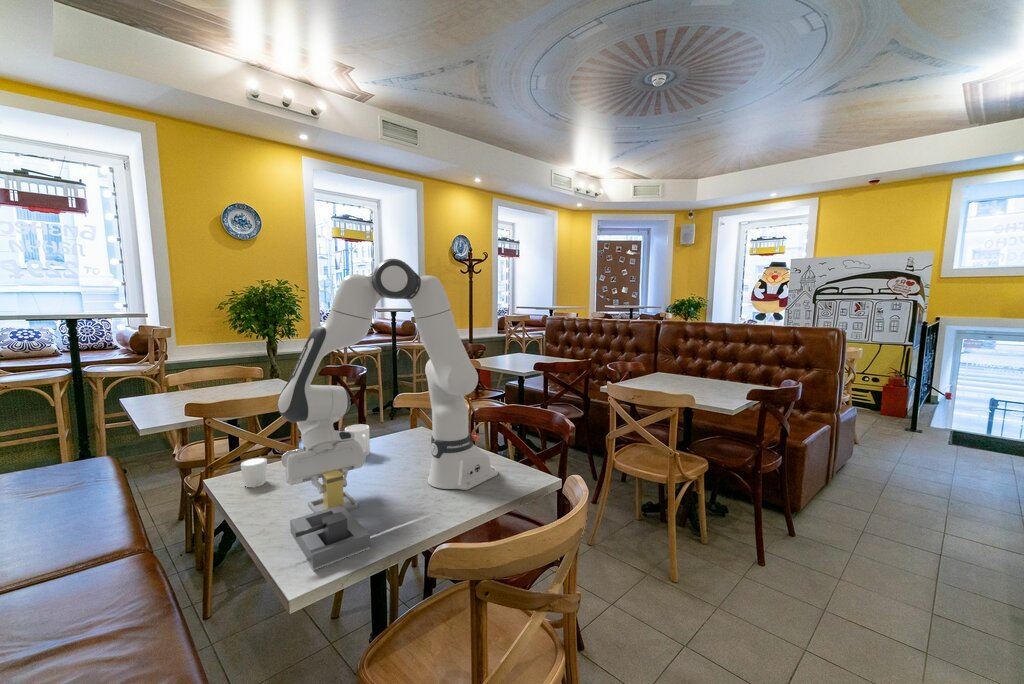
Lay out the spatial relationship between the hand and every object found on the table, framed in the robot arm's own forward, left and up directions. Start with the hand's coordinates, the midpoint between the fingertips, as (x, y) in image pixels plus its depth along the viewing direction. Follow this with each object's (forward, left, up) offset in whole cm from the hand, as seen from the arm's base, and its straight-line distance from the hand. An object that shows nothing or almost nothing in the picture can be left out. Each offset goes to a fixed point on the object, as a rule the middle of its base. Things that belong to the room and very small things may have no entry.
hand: (333, 489), depth 111 cm
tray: (0, -1, -5) cm, 5 cm away
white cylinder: (+13, -32, -6) cm, 35 cm away
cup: (-20, -34, -6) cm, 40 cm away
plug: (0, -1, -5) cm, 5 cm away
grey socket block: (+6, +15, -5) cm, 17 cm away
